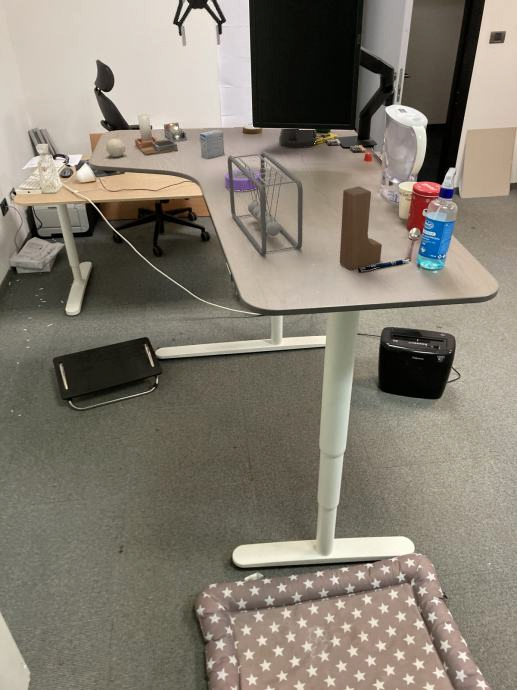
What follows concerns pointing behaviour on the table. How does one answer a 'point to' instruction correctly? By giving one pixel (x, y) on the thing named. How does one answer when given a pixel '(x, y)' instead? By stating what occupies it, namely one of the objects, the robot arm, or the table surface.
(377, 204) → the table surface
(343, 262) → the wooden block
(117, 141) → the baseball
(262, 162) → the newton's cradle
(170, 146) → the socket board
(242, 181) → the masking tape
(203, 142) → the medicine box
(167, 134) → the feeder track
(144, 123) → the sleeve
